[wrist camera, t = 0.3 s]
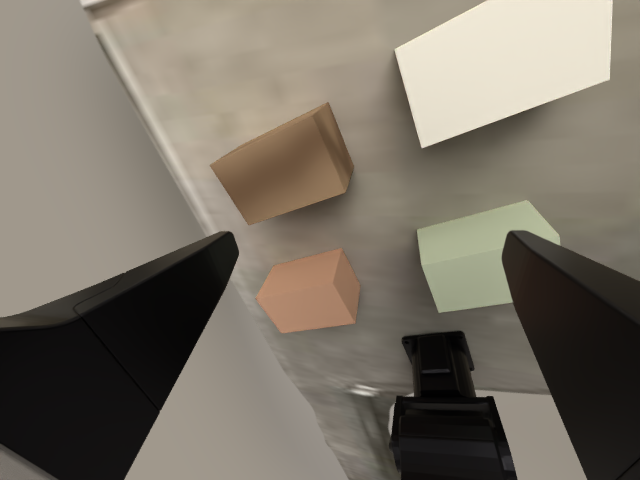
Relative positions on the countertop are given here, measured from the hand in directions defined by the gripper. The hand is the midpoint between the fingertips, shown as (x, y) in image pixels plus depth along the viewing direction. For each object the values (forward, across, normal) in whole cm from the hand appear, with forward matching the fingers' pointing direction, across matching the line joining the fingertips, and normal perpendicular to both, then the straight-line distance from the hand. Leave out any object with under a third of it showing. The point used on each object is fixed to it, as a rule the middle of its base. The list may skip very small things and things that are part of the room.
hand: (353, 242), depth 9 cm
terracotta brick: (+14, +7, +13) cm, 20 cm away
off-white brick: (+14, -6, -4) cm, 15 cm away
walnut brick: (+14, +6, +1) cm, 15 cm away
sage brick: (+14, -8, +9) cm, 18 cm away
